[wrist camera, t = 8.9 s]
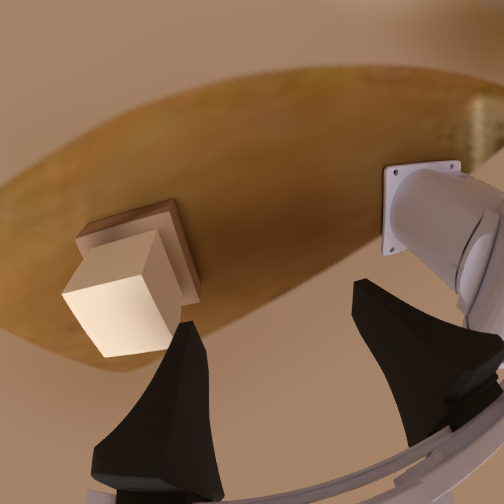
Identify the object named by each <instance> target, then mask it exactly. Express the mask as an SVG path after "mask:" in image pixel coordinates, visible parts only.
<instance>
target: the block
mask: <svg viewBox="0 0 504 504" xmlns="http://www.w3.org/2000/svg"><path fill="white" fill-rule="evenodd" d="M62 296H63V298H64V299H65V301H66V302H67V304H68V306H69V307H70V309H71V310H72V312H73V314H74V315H75V317H76V318H77V320H78V321H79V323H80V324H81V326H82V327H83V329H84V330H85V331H86V333H87V334H88V336H89V337H90V338H91V340H92V341H93V343H94V344H95V345H96V347H97V348H98V349H99V351H100V352H101V353H102V355H103V356H104V357H113V356H121V355H129V354H136V353H143V352H150V351H157V350H163V349H168V347H169V345H170V343H171V340H172V338H173V336H174V333H175V331H176V329H177V326H178V325H179V323H180V312H181V300H182V292H181V289H180V287H179V284H178V282H177V279H176V277H175V274H174V272H173V269H172V267H171V264H170V262H169V259H168V256H167V254H166V251H165V249H164V246H163V243H162V240H161V238H160V235H159V232H158V229H157V230H153V231H149V232H146V233H142V234H139V235H135V236H132V237H128V238H125V239H121V240H118V241H114V242H111V243H108V244H104V245H101V246H98V247H94V248H91V249H90V251H89V252H88V253H87V255H86V256H85V258H84V259H83V261H82V262H81V264H80V265H79V267H78V268H77V270H76V271H75V273H74V275H73V276H72V278H71V279H70V281H69V282H68V284H67V286H66V287H65V289H64V291H63V292H62Z"/></svg>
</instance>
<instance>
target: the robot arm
mask: <svg viewBox="0 0 504 504" xmlns="http://www.w3.org/2000/svg"><path fill="white" fill-rule="evenodd" d="M450 165H451V167H450ZM394 170H396V173H395V174H394ZM391 248H392V249H391ZM390 249H391V250H390ZM408 249H409V250H410V251H411V252H413V253H414V254H415V255H416V256H417V257H418V258H419V259H420V260H422V261H423V262H424V263H425V264H426V265H427V266H428V267H429V268H430V269H431V270H432V271H433V272H434V273H436V274H437V275H438V276H439V277H440V278H441V279H442V280H443V281H444V282H445V283H446V284H447V285H448V286H449V287H450V288H451V289H452V290H453V291H454V292H455V293H456V294H457V295H458V297H459V298H458V303H457V307H458V308H459V309H460V310H461V311H462V312H463V313H464V314H465V317H464V320H463V327H459V326H456V325H453V324H450V323H447V322H445V321H442V320H439V319H437V318H435V317H433V316H430V315H428V314H426V313H424V312H422V311H420V310H418V309H416V308H414V307H413V306H410V305H409V304H407V303H405V302H404V301H402V300H400V299H399V298H397V297H395V296H394V295H392V294H390V293H389V292H387V291H386V290H384V289H382V288H381V287H379V286H378V285H376V284H374V283H373V282H371V281H369V280H368V279H362V280H358V281H355V282H354V288H353V303H352V317H353V319H354V322H355V324H356V326H357V328H358V330H359V333H360V334H361V336H362V337H363V339H364V341H365V343H366V344H367V346H368V347H369V349H370V351H371V352H372V354H373V356H374V357H375V359H376V361H377V362H378V364H379V366H380V367H381V369H382V371H383V373H384V375H385V377H386V379H387V381H388V384H389V386H390V388H391V391H392V393H393V396H394V399H395V401H396V404H397V407H398V410H399V413H400V416H401V419H402V422H403V425H404V429H405V433H406V437H407V441H408V446H409V448H408V449H407V450H405V451H403V452H401V453H399V454H396V455H394V456H392V457H390V458H388V459H386V460H384V461H382V462H379V463H377V464H374V465H372V466H370V467H367V468H365V469H362V470H359V471H357V472H354V473H351V474H349V475H346V476H343V477H340V478H337V479H334V480H331V481H328V482H325V483H321V484H318V485H314V486H310V487H306V488H303V489H299V490H294V491H289V492H285V493H280V494H275V495H270V496H264V497H257V498H250V499H242V500H233V501H221V500H222V499H223V498H224V496H225V495H224V492H223V488H222V484H221V480H220V476H219V472H218V467H217V463H216V458H215V453H214V447H213V441H212V435H211V428H210V420H209V370H208V363H207V362H208V361H207V354H206V349H205V347H204V346H203V343H202V341H201V339H200V336H199V334H198V332H197V329H196V327H195V325H194V323H193V321H188V322H183V323H179V325H178V326H177V329H176V331H175V333H174V336H173V338H172V340H171V343H170V345H169V347H168V349H167V351H166V353H165V356H164V358H163V360H162V362H161V364H160V366H159V368H158V369H157V371H156V373H155V375H154V377H153V379H152V381H151V382H150V384H149V385H148V387H147V389H146V390H145V392H144V393H143V395H142V396H141V398H140V399H139V400H138V402H137V403H136V405H135V406H134V407H133V409H132V410H131V411H130V412H129V414H128V415H127V416H126V417H125V418H124V419H123V421H122V422H121V423H120V424H119V425H118V426H117V427H116V428H115V429H114V430H113V431H112V432H111V433H110V434H109V435H108V436H107V437H106V438H105V439H103V440H102V441H101V442H100V443H99V444H98V445H97V446H95V448H94V452H93V458H92V469H91V476H92V477H93V478H94V479H95V480H97V481H99V482H101V483H103V484H105V485H107V486H110V487H112V488H114V489H116V490H117V495H114V494H110V493H105V492H100V491H94V490H89V489H88V490H87V503H86V504H308V503H312V502H316V501H319V500H323V499H327V498H330V497H333V496H336V495H339V494H342V493H345V492H348V491H351V490H354V489H356V488H359V487H362V486H364V485H367V484H369V483H372V482H374V481H376V480H379V479H381V478H383V477H386V476H388V475H390V474H392V473H394V472H396V471H398V470H400V469H402V468H404V467H406V466H408V465H410V464H412V463H414V462H416V461H418V460H419V459H421V458H423V457H425V456H426V455H427V456H426V459H424V460H423V461H421V462H419V463H418V464H416V465H414V466H413V467H411V468H409V469H407V471H406V472H404V473H403V474H402V475H400V476H399V477H397V478H395V479H394V480H393V481H394V484H395V486H396V487H395V488H393V489H391V490H389V491H386V492H384V493H382V494H380V495H377V496H375V497H373V498H370V499H368V500H365V501H363V502H360V503H357V504H456V503H455V500H454V498H453V495H452V493H451V491H450V490H451V489H452V488H454V487H455V486H456V485H458V484H459V483H460V482H462V481H463V480H464V479H465V478H467V477H468V476H469V475H470V474H472V473H473V472H474V471H475V470H476V469H477V468H479V467H480V466H481V465H482V464H483V463H484V462H485V461H486V460H488V459H489V458H490V457H491V456H492V455H493V454H494V453H495V452H496V451H497V450H498V449H499V448H500V447H501V446H502V445H503V444H504V380H503V381H502V382H501V383H500V384H498V383H497V381H496V380H497V379H498V375H497V374H496V370H497V369H498V368H500V369H504V192H502V191H501V190H498V189H497V188H495V187H493V186H491V185H489V184H487V183H485V182H483V181H480V180H478V179H476V178H474V177H472V176H470V175H467V174H465V173H463V172H461V163H460V161H458V160H446V161H433V162H422V163H412V164H402V165H393V166H387V167H386V168H385V169H384V207H383V231H382V246H381V252H382V254H383V255H384V256H388V255H391V254H395V253H398V252H402V251H405V250H408ZM220 501H221V502H220Z"/></svg>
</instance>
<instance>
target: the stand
mask: <svg viewBox="0 0 504 504" xmlns="http://www.w3.org/2000/svg"><path fill="white" fill-rule="evenodd" d="M157 229H158V232H159V235H160V238H161V240H162V243H163V246H164V249H165V251H166V254H167V256H168V259H169V262H170V264H171V267H172V269H173V272H174V274H175V277H176V279H177V282H178V284H179V287H180V289H181V292H182V300H181V306H184V305H189V304H193V303H198V302H200V279H199V276H198V273H197V270H196V267H195V264H194V261H193V258H192V255H191V252H190V249H189V246H188V243H187V240H186V236H185V233H184V230H183V227H182V223H181V220H180V217H179V213H178V210H177V207H176V203H175V200H174V199H170V200H166V201H162V202H159V203H155V204H151V205H148V206H144V207H141V208H137V209H134V210H131V211H127V212H124V213H121V214H117V215H114V216H111V217H108V218H105V219H102V220H98V221H95V222H92V223H89V224H87V225H86V227H85V228H84V229H83V230H82V231H81V232H80V233H79V235H78V236H77V237H76V238H75V241H76V243H77V246H78V248H79V250H80V252H81V254H82V257H83V259H84V258H85V256H86V255H87V253H88V252H89V251H90V249H91V248H94V247H98V246H101V245H104V244H108V243H111V242H114V241H118V240H121V239H125V238H128V237H132V236H135V235H139V234H142V233H146V232H149V231H153V230H157Z"/></svg>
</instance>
